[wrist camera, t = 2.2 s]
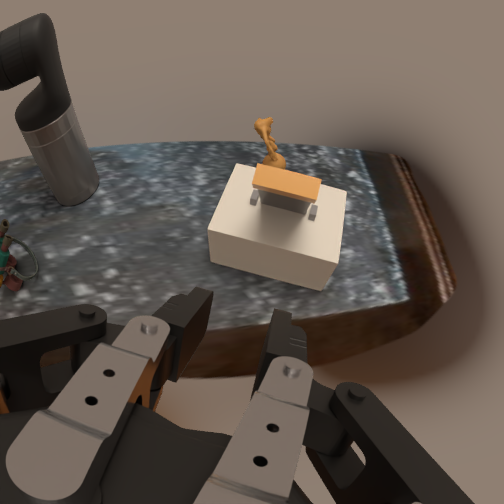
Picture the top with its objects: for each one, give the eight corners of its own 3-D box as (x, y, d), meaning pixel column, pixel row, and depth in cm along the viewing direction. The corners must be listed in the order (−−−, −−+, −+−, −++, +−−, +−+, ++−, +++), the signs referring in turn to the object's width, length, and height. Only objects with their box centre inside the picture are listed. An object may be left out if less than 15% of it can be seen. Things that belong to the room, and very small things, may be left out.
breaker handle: (304, 218, 39) (316, 200, 28) (259, 206, 40) (251, 183, 28) (308, 203, 39) (321, 179, 28) (262, 191, 40) (257, 163, 28)
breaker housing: (321, 291, 43) (341, 258, 35) (210, 261, 44) (206, 223, 36) (332, 224, 49) (348, 185, 41) (235, 199, 50) (236, 157, 43)
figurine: (289, 188, 52) (301, 133, 42) (254, 191, 52) (259, 134, 41) (278, 156, 57) (287, 103, 46) (246, 158, 56) (250, 103, 45)
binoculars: (20, 259, 44) (-26, 252, 35) (39, 219, 43) (-9, 206, 34) (34, 299, 41) (-17, 295, 32) (56, 257, 40) (0, 247, 30)
